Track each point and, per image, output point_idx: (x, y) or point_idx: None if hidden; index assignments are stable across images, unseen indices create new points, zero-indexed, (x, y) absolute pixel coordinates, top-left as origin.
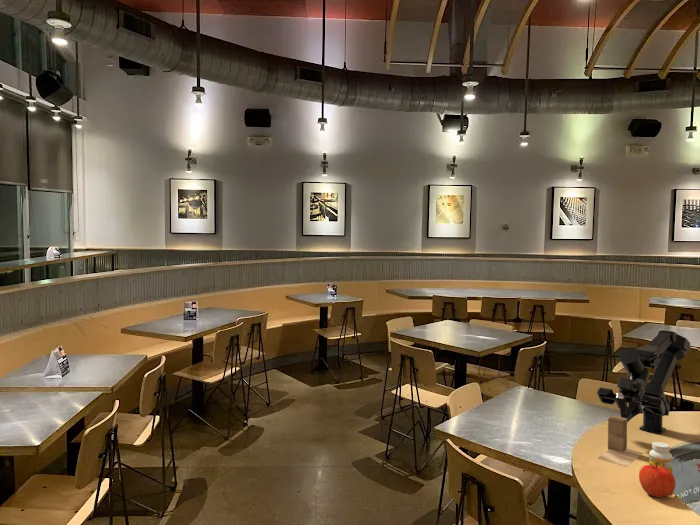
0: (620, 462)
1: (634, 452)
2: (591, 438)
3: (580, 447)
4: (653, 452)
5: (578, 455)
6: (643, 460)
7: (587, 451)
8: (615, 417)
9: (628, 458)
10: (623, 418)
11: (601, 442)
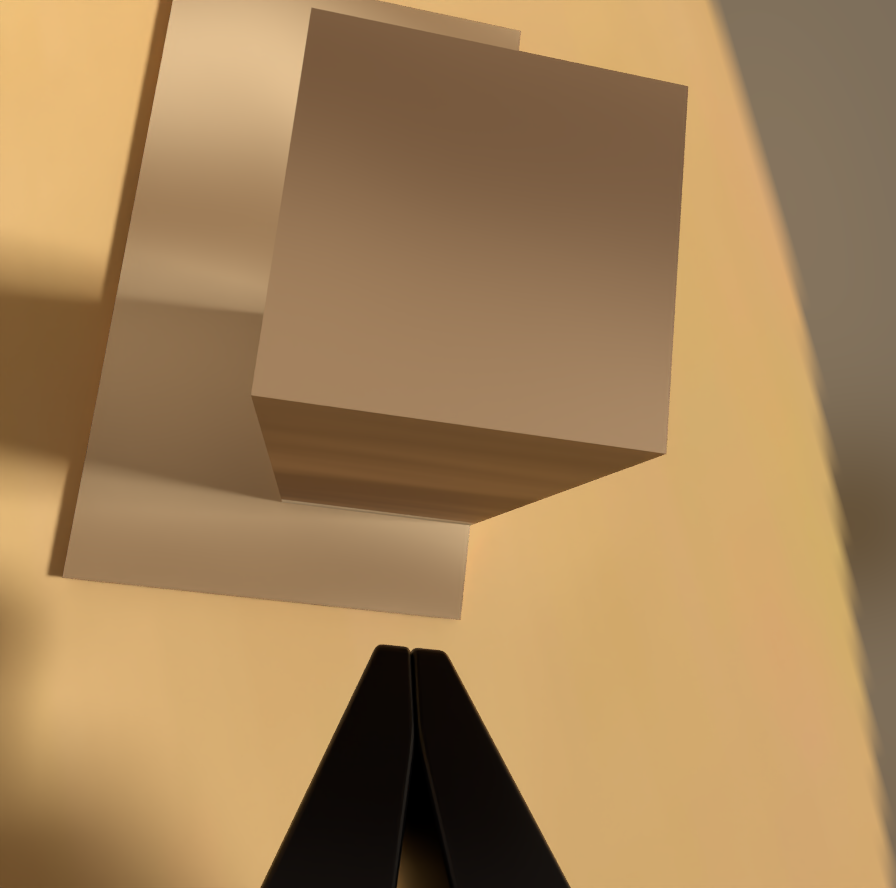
0: (265, 45)
1: (177, 510)
2: (798, 739)
3: (782, 306)
4: None
5: (710, 49)
6: (34, 340)
7: None
8: (562, 294)
9: (207, 234)
10: (346, 333)
11: (650, 670)
